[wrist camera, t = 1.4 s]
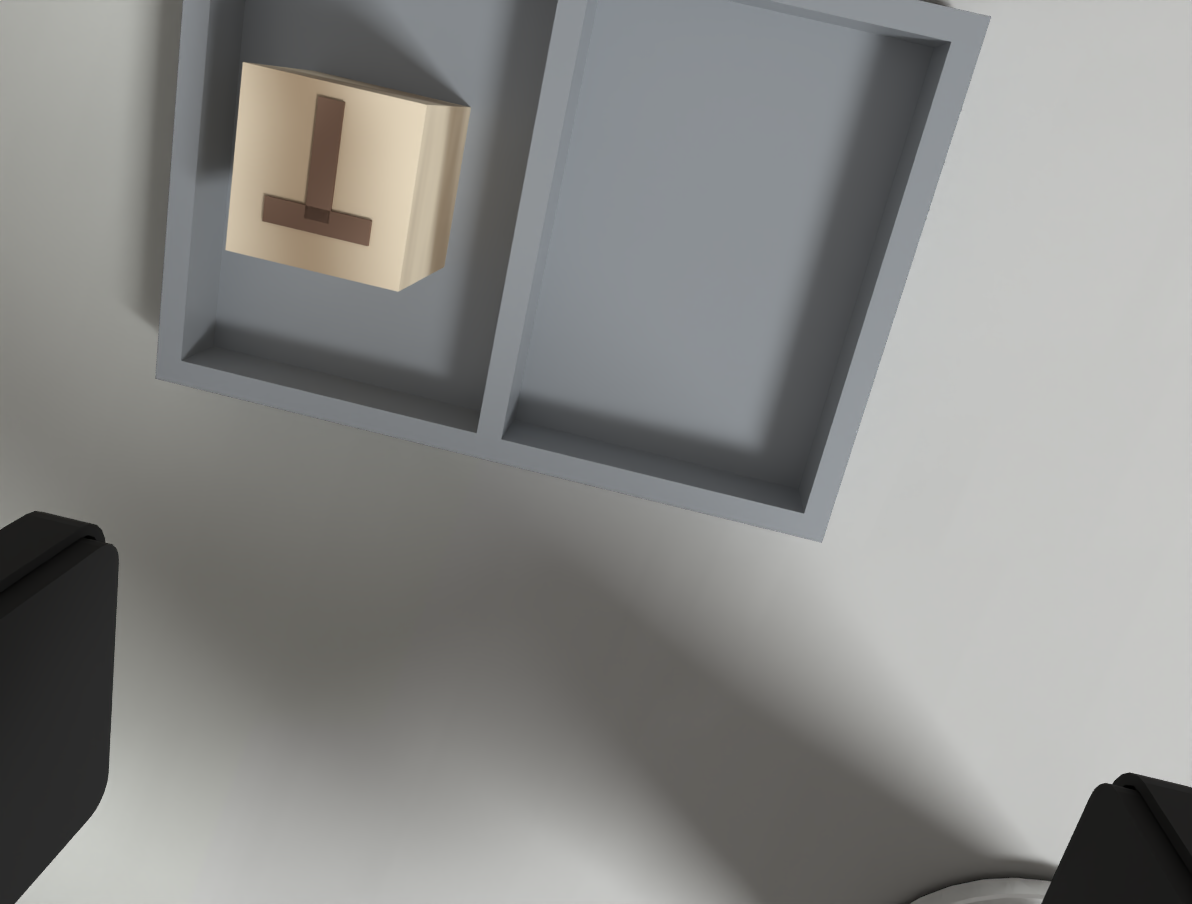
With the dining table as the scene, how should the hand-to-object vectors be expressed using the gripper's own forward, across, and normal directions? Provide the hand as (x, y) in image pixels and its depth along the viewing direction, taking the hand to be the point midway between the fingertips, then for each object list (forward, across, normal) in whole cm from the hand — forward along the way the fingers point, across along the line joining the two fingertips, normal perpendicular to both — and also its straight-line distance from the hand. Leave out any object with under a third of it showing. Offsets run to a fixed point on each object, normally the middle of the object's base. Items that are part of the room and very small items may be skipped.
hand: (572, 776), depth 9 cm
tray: (+25, +4, -2) cm, 25 cm away
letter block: (+24, +10, -2) cm, 26 cm away
